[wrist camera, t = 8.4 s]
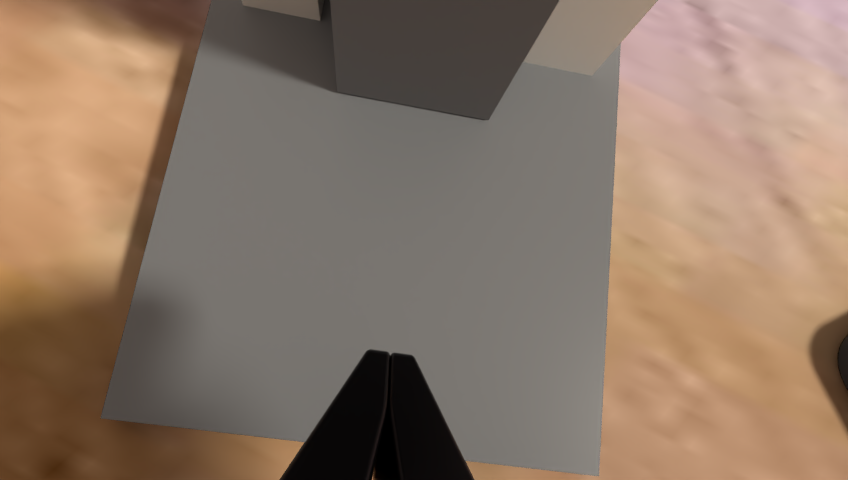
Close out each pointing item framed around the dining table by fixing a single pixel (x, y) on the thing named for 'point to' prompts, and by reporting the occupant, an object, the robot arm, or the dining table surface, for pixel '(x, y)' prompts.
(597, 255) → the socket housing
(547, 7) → the plug
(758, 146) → the dining table surface
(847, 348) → the smartphone
